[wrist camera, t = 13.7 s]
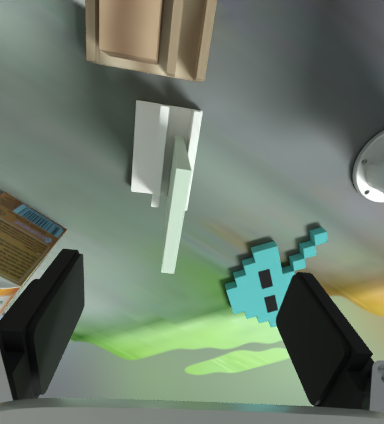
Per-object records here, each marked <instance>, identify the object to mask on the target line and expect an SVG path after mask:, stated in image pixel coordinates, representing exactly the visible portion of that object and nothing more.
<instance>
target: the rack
mask: <svg viewBox="0 0 384 424" xmlns="http://www.w3.org/2000/svg"><path fill="white" fill-rule="evenodd" d="M85 3H86V60H87V61H90V62H92V63H94V64H99V65H105V66H111V67H116V68H122V69H127V70H133V71H139V72H144V73H150V74H155V75H161V76H166V77H172V78H178V79H183V80H189V81H194V82H202V81H204V80H205V75H206V68H207V62H208V56H209V49H210V43H211V36H212V30H213V23H214V17H215V10H216V4H217V0H164V6H163V17H162V29H161V41H160V52H159V64H158V65H154V64H149V63H143V62H138V61H132V60H127V59H122V58H116V57H111V56H109V55H107V54H106V53H104V52H103V51H101V50H100V49H99V0H85Z"/></svg>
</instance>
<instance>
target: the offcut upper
mask: <svg viewBox="0 0 384 424" xmlns="http://www.w3.org/2000/svg"><path fill="white" fill-rule="evenodd" d="M161 12H162V0H99V49H100V50H101V51H103V52H104V53H107V54H112V55H118V56H123V57H129V58H134V59H140V60H145V61H150V62H156V63H157V59H158V47H159V36H160V24H161Z"/></svg>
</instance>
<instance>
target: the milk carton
mask: <svg viewBox="0 0 384 424" xmlns="http://www.w3.org/2000/svg"><path fill="white" fill-rule="evenodd" d="M66 230H67V229H65V228H63V227H62V226H60V225H59V224H57V223H55V222H54V221H52V220H50V219H49V218H47V217H45V216H44V215H42V214H40V213H39V212H37V211H35V210H34V209H32V208H31V207H29V206H27V205H26V204H24V203H22V202H21V201H19V200H17V199H16V198H14V197H12V196H11V195H9V194H7V193H6V192H4V193H2V194H1V195H0V315H1V314H2V312H3V311H4V310H5V309H6V307H7V306H8V305H9V304H10V302H11V301H12V300H13V299H14V297H15V296H16V295H17V294H18V292H19V291H20V290H21V288H22V287H23V286H24V285H25V283H26V282H27V281H28V280H29V278H30V277H31V276H32V275H33V273H34V272H35V271H36V270H37V268H38V267H39V266H40V264H41V263H42V262H43V260H44V259H45V258H46V256H47V255H48V254H49V252H50V251H51V250H52V249H53V247H54V246H55V245H56V243H57V242H58V241H59V239H60V238H61V237H62V235H63V234H64V233H65V231H66Z"/></svg>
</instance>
